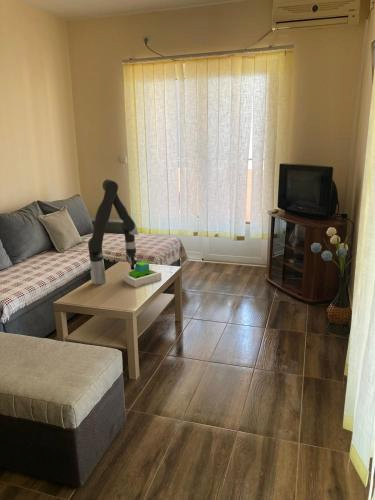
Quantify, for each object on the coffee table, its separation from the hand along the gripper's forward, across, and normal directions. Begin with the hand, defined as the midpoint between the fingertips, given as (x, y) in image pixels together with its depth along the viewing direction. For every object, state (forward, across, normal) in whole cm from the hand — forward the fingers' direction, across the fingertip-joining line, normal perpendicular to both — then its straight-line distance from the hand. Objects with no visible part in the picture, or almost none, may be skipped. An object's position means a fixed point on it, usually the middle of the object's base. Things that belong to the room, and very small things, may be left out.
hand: (132, 269), depth 297 cm
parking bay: (+5, +14, 0) cm, 15 cm away
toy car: (+5, +6, +1) cm, 8 cm away
